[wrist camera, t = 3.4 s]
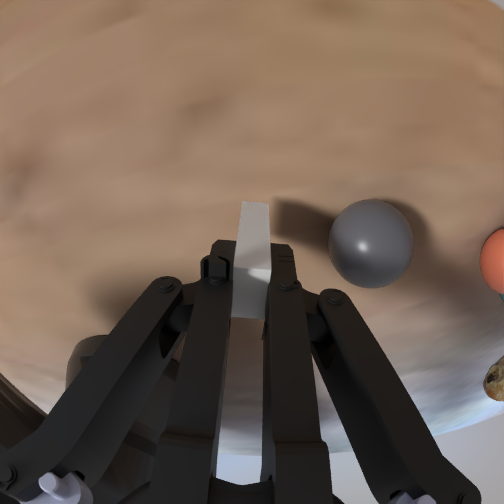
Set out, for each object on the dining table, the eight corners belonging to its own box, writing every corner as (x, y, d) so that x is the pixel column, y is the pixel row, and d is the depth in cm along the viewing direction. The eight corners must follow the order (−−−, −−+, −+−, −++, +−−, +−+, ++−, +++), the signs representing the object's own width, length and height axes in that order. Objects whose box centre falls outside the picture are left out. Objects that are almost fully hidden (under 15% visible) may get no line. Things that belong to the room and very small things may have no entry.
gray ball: (356, 269, 22) (377, 319, 18) (304, 228, 21) (317, 277, 16) (408, 219, 20) (443, 261, 15) (360, 170, 18) (393, 204, 14)
